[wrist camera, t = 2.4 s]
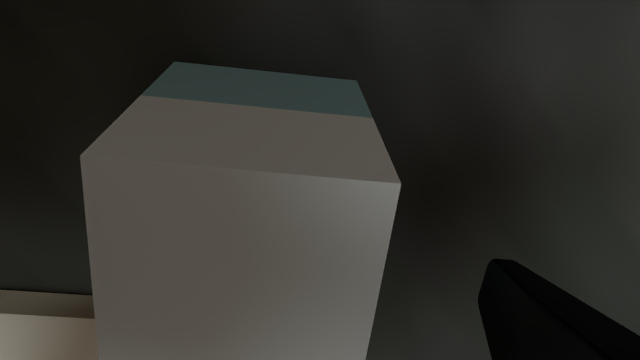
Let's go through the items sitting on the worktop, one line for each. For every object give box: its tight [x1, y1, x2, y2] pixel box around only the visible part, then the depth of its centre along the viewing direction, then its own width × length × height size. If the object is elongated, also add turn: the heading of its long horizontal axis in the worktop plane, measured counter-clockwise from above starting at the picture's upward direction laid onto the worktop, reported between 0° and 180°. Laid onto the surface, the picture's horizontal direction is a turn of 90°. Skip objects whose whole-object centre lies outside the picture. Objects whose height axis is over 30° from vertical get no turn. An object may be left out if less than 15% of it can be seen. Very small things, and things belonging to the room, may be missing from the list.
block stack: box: [80, 62, 401, 360], centre depth 11 cm, size 4×4×6 cm
